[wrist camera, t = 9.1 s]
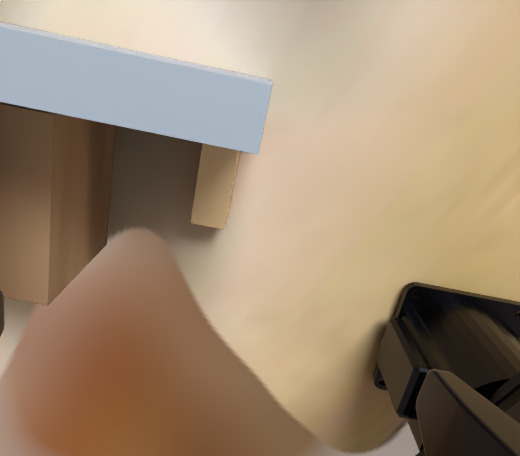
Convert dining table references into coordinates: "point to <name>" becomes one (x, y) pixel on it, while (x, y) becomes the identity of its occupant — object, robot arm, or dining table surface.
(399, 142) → the dining table surface
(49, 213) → the cabinet block
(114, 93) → the grey toy bench
